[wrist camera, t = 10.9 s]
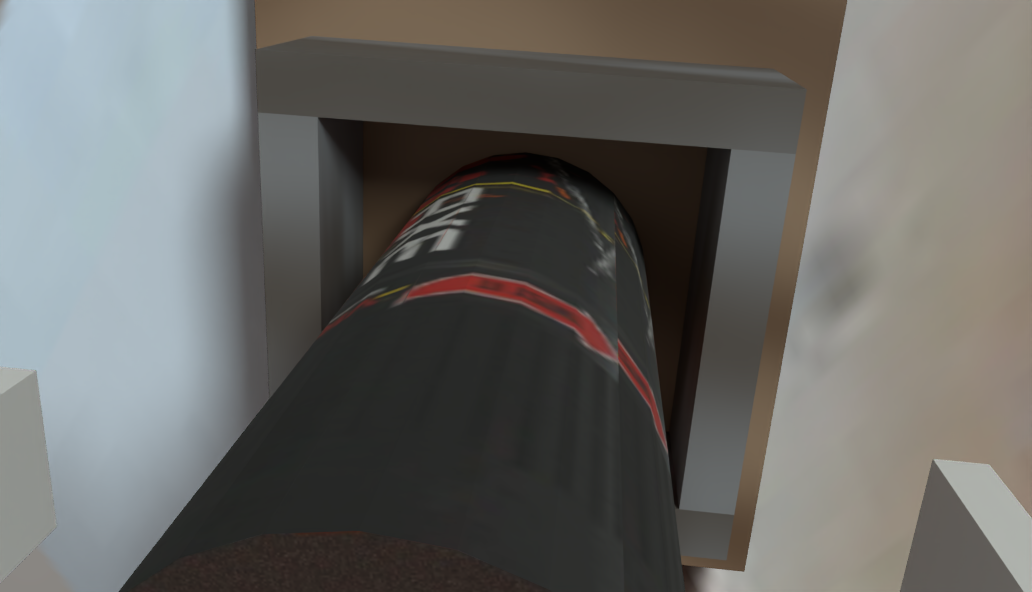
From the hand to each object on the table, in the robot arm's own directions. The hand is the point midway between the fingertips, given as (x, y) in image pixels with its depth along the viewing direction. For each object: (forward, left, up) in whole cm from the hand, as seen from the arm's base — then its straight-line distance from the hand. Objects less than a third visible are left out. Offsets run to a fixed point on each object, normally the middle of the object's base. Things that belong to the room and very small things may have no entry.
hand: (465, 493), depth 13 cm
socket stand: (0, 0, -11) cm, 11 cm away
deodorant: (0, 0, -10) cm, 10 cm away
